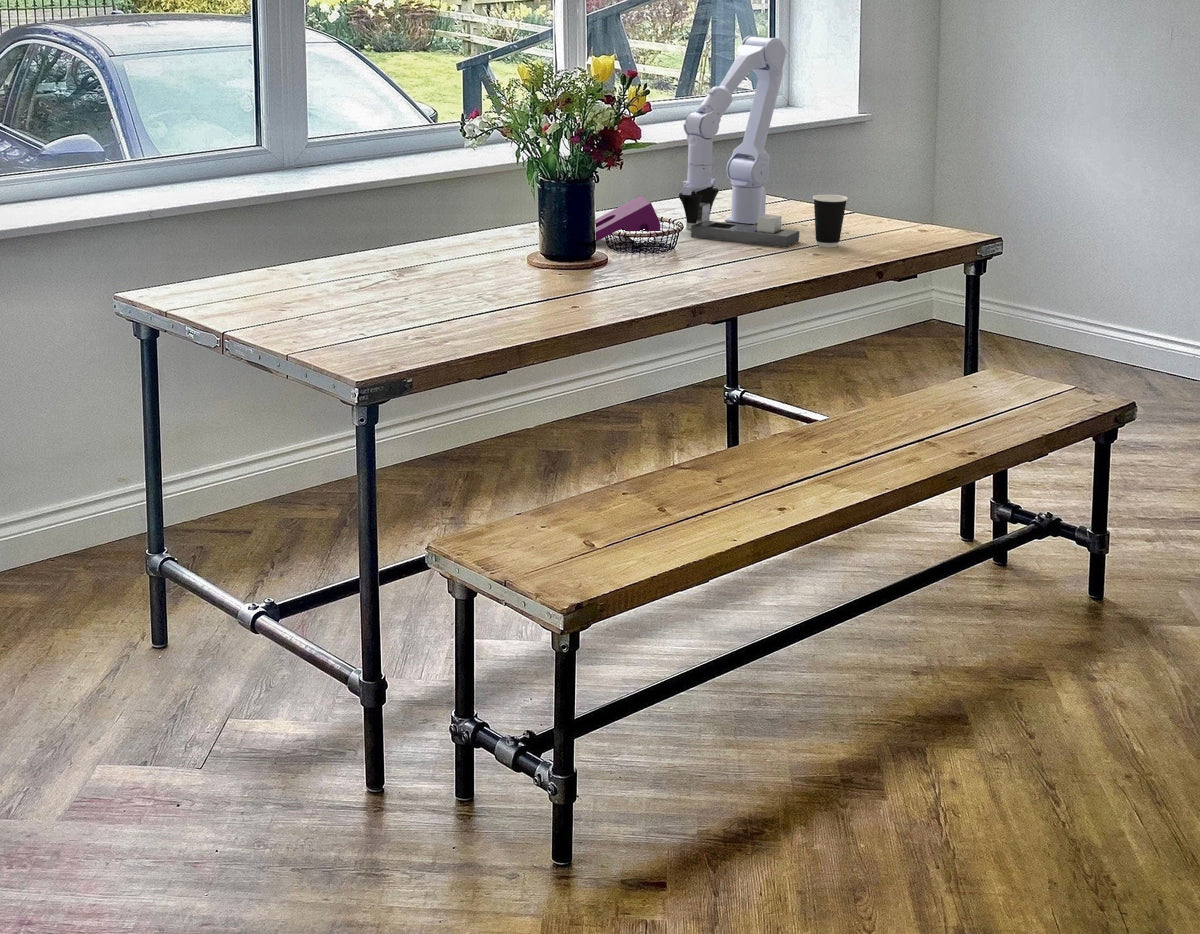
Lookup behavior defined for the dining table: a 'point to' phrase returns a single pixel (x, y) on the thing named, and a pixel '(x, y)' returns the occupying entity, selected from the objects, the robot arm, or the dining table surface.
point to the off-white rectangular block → (769, 224)
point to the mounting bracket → (628, 218)
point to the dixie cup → (829, 218)
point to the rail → (743, 234)
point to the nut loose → (701, 215)
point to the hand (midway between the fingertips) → (698, 220)
